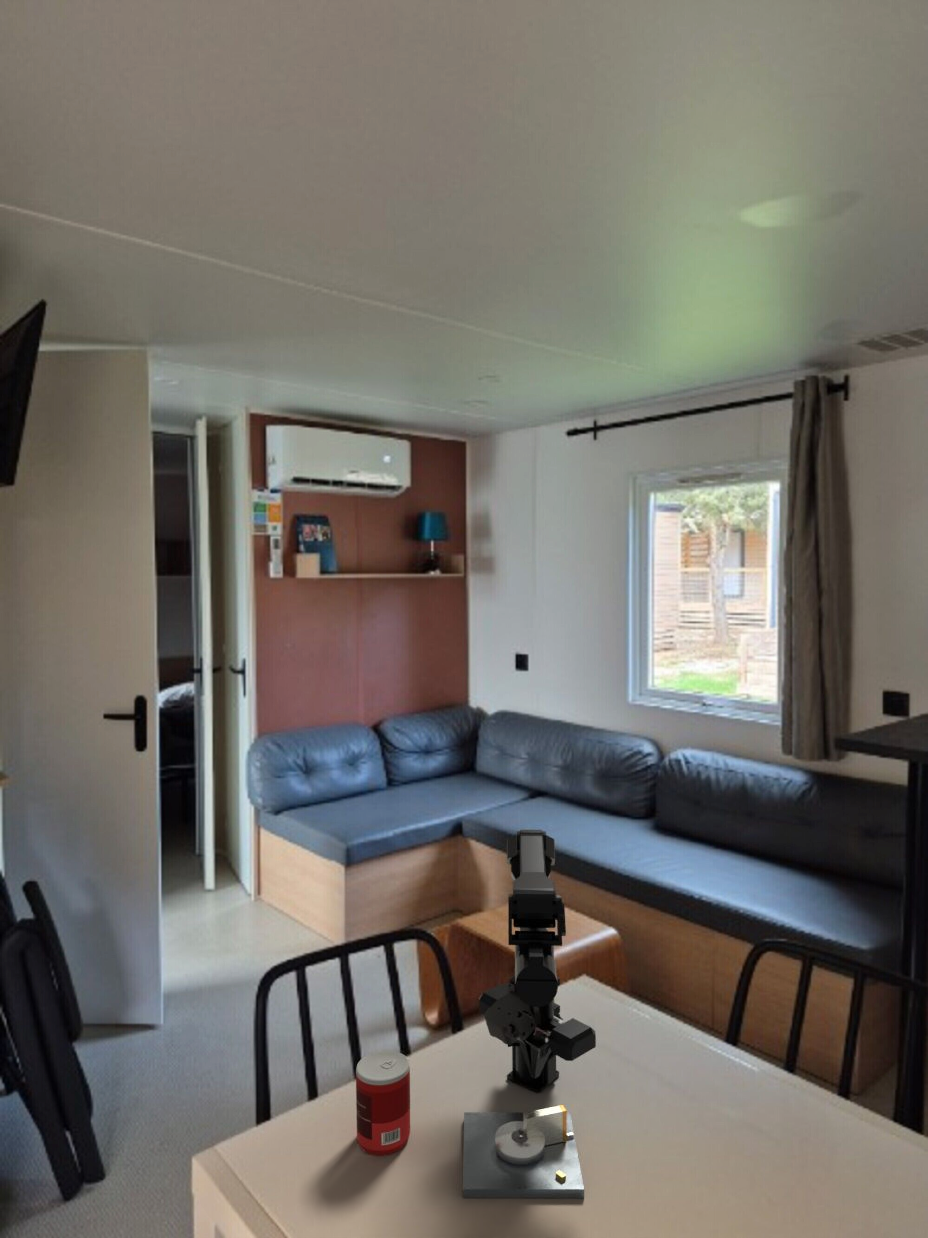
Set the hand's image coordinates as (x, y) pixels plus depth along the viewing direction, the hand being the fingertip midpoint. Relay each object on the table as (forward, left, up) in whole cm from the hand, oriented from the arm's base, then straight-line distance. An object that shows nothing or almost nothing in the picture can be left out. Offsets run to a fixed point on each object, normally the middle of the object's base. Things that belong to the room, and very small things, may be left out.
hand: (535, 1076), depth 120 cm
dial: (+2, -4, -7) cm, 9 cm away
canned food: (-17, -15, -9) cm, 24 cm away
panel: (+1, -6, -9) cm, 10 cm away
